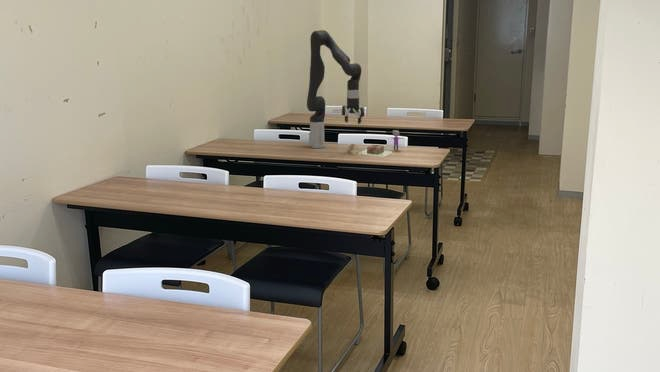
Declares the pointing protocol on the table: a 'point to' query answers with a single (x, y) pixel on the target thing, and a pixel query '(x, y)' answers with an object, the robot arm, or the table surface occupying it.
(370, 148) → the base brick
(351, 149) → the top brick
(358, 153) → the build plate
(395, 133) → the toy
